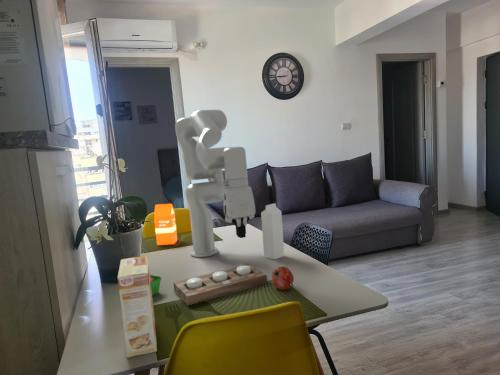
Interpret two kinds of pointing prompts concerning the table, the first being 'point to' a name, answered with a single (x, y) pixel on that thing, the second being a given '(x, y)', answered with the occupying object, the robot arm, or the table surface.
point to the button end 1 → (194, 283)
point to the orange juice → (165, 224)
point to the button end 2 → (243, 270)
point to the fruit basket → (155, 283)
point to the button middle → (219, 276)
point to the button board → (219, 285)
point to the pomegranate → (282, 278)
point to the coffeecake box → (137, 306)
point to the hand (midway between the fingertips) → (241, 236)
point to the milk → (272, 232)
